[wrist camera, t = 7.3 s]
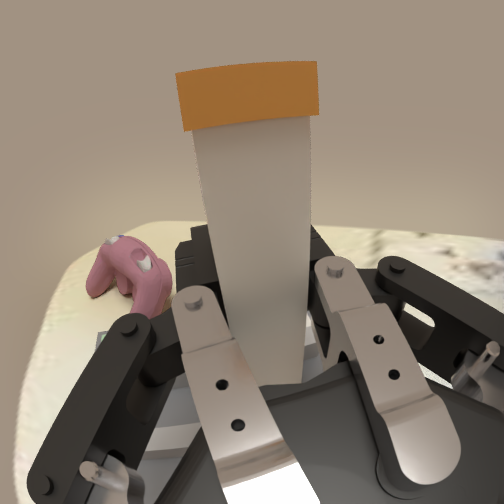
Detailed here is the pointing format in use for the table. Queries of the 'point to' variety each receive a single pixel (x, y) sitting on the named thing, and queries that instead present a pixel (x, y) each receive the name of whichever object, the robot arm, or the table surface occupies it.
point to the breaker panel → (191, 423)
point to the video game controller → (131, 274)
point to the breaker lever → (257, 201)
